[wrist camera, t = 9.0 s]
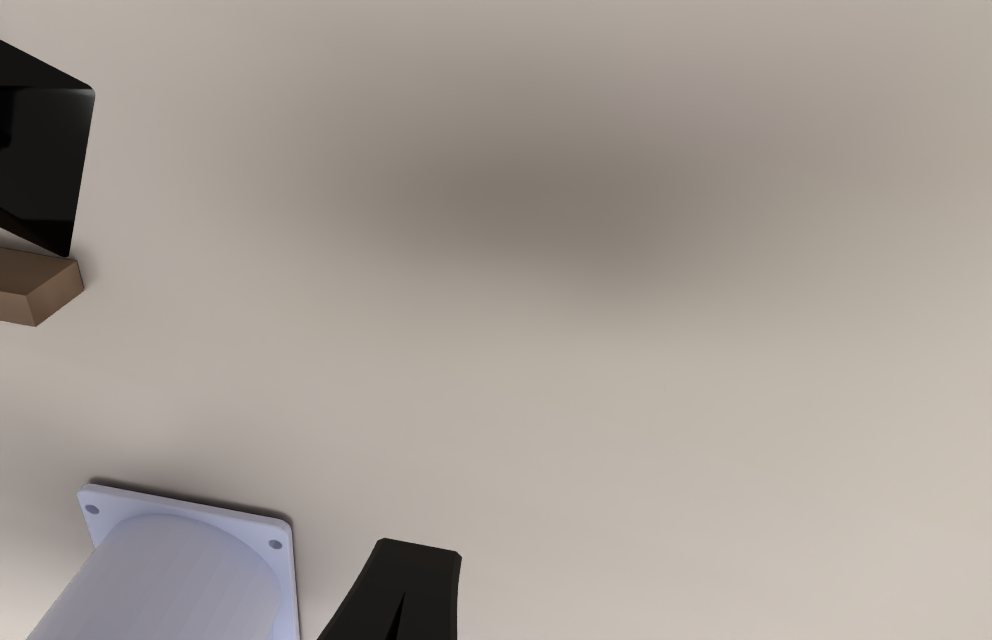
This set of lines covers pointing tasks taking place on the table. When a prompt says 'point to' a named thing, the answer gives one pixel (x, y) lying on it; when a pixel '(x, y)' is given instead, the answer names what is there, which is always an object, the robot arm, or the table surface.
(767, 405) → the table surface
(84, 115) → the black bevelled base
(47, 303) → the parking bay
